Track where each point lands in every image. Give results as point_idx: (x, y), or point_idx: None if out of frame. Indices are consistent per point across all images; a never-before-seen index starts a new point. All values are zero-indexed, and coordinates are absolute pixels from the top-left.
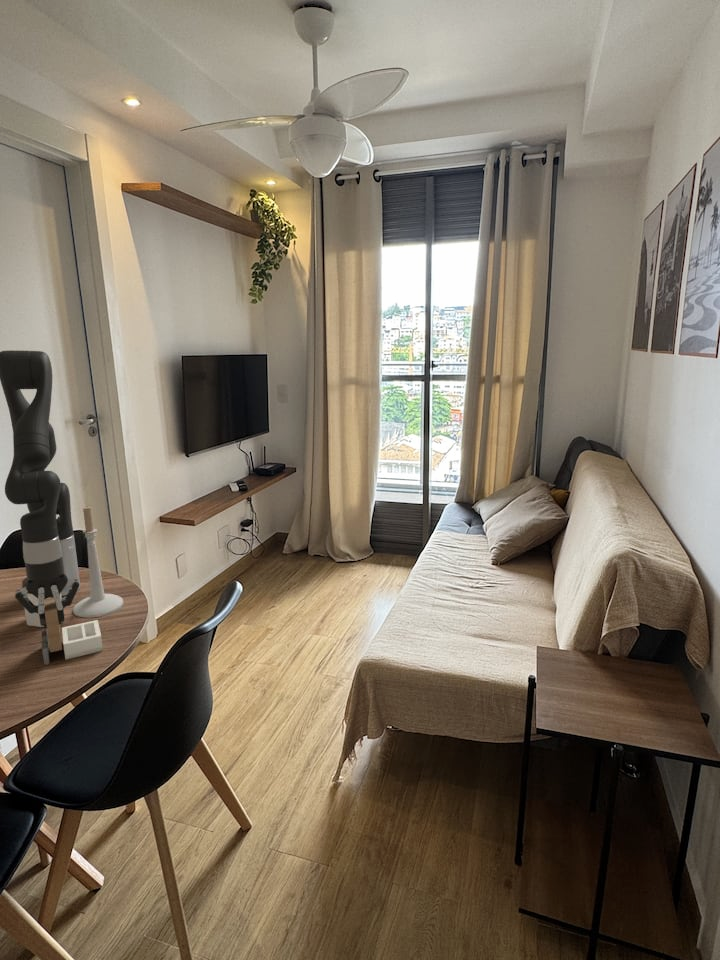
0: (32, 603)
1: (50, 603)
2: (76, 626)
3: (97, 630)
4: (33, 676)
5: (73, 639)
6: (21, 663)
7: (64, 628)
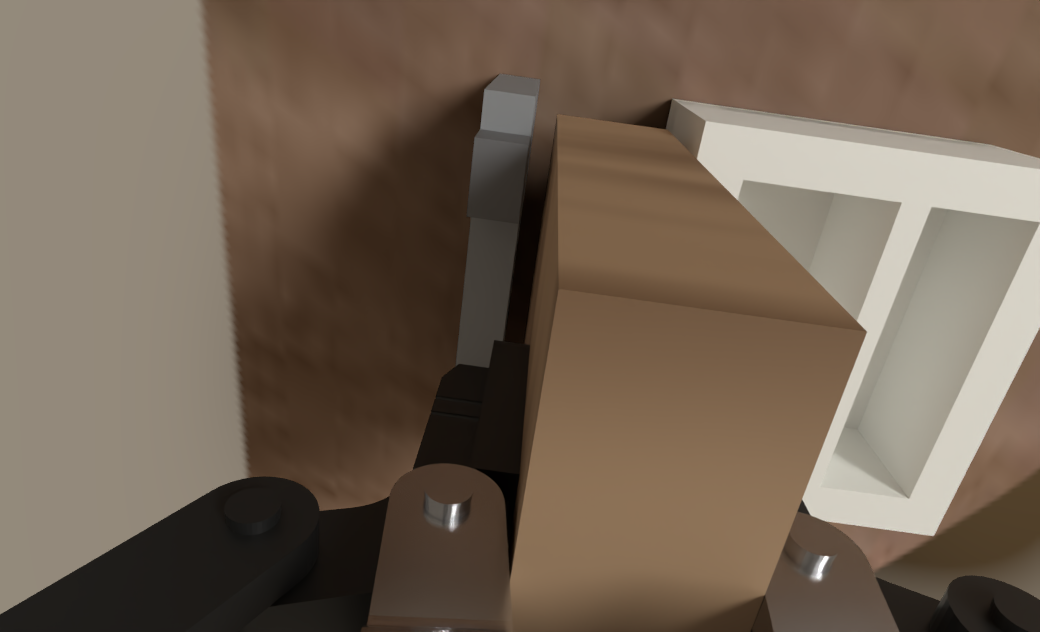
0: (229, 625)
1: (635, 606)
2: (848, 192)
3: (965, 425)
4: (388, 476)
5: (749, 186)
6: (314, 257)
7: (722, 162)
